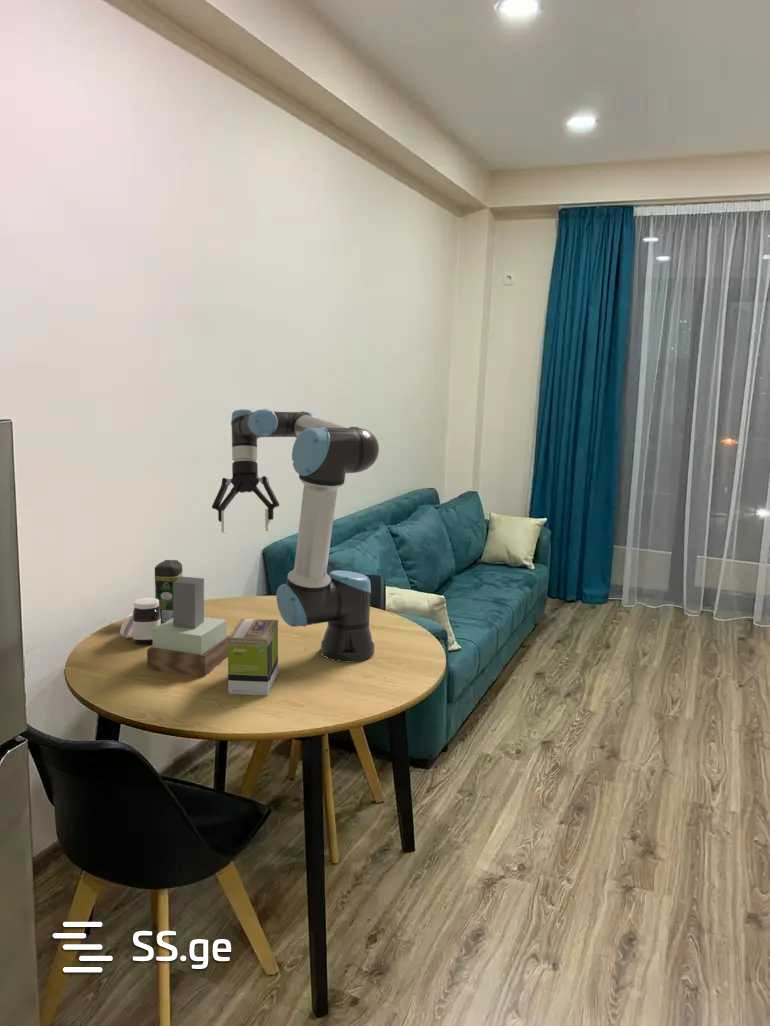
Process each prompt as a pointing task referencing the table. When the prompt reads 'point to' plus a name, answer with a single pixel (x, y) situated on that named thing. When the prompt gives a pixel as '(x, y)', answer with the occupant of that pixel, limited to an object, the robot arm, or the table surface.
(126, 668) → the table surface
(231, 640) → the tea box
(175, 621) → the gray block
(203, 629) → the sage block
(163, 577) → the coffee jar
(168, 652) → the walnut block
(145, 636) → the spread jar
